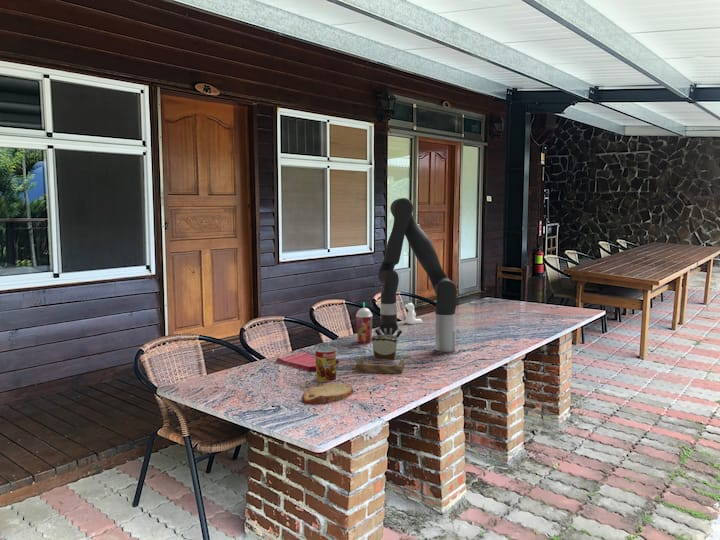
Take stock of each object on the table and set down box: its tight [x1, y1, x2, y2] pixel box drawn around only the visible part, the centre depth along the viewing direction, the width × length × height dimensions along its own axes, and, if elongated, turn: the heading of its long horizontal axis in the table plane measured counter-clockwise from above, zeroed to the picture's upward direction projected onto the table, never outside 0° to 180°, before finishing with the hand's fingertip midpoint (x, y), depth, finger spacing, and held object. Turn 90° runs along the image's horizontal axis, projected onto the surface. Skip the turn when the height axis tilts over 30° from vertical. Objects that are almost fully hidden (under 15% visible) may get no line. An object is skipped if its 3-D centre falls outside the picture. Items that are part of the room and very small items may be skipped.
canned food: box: [315, 346, 337, 383], centre depth 237 cm, size 8×8×12 cm
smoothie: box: [355, 302, 374, 344], centre depth 296 cm, size 8×8×20 cm
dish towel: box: [275, 352, 340, 372], centre depth 261 cm, size 17×24×3 cm
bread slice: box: [301, 382, 354, 405], centre depth 217 cm, size 18×18×4 cm
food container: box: [370, 334, 399, 361], centre depth 266 cm, size 12×6×10 cm, turn 71°
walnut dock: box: [354, 358, 405, 374], centre depth 249 cm, size 19×10×3 cm, turn 79°
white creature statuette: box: [404, 302, 423, 325], centre depth 340 cm, size 10×9×12 cm
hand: (389, 349), depth 275 cm, fingers closed
